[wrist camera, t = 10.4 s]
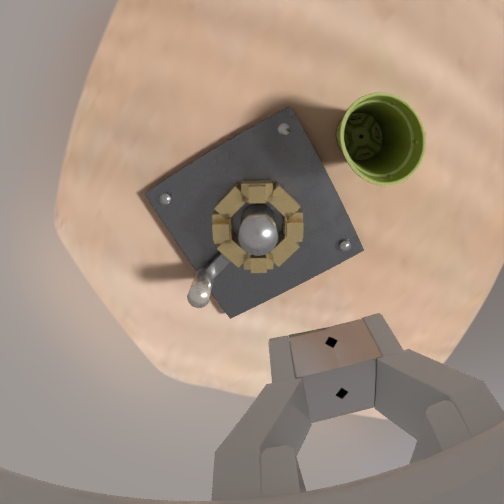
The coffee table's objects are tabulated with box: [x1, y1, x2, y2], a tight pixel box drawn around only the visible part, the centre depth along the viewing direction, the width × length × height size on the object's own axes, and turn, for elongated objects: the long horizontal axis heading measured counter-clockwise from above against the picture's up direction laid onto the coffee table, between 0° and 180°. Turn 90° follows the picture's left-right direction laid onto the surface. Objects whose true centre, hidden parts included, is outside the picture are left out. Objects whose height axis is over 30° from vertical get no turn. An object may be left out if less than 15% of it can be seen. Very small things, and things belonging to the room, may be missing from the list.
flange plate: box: [145, 107, 364, 319], centre depth 36 cm, size 20×20×8 cm
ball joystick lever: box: [187, 180, 304, 308], centre depth 36 cm, size 16×10×6 cm, turn 136°
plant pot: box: [336, 92, 426, 186], centre depth 32 cm, size 9×9×9 cm
